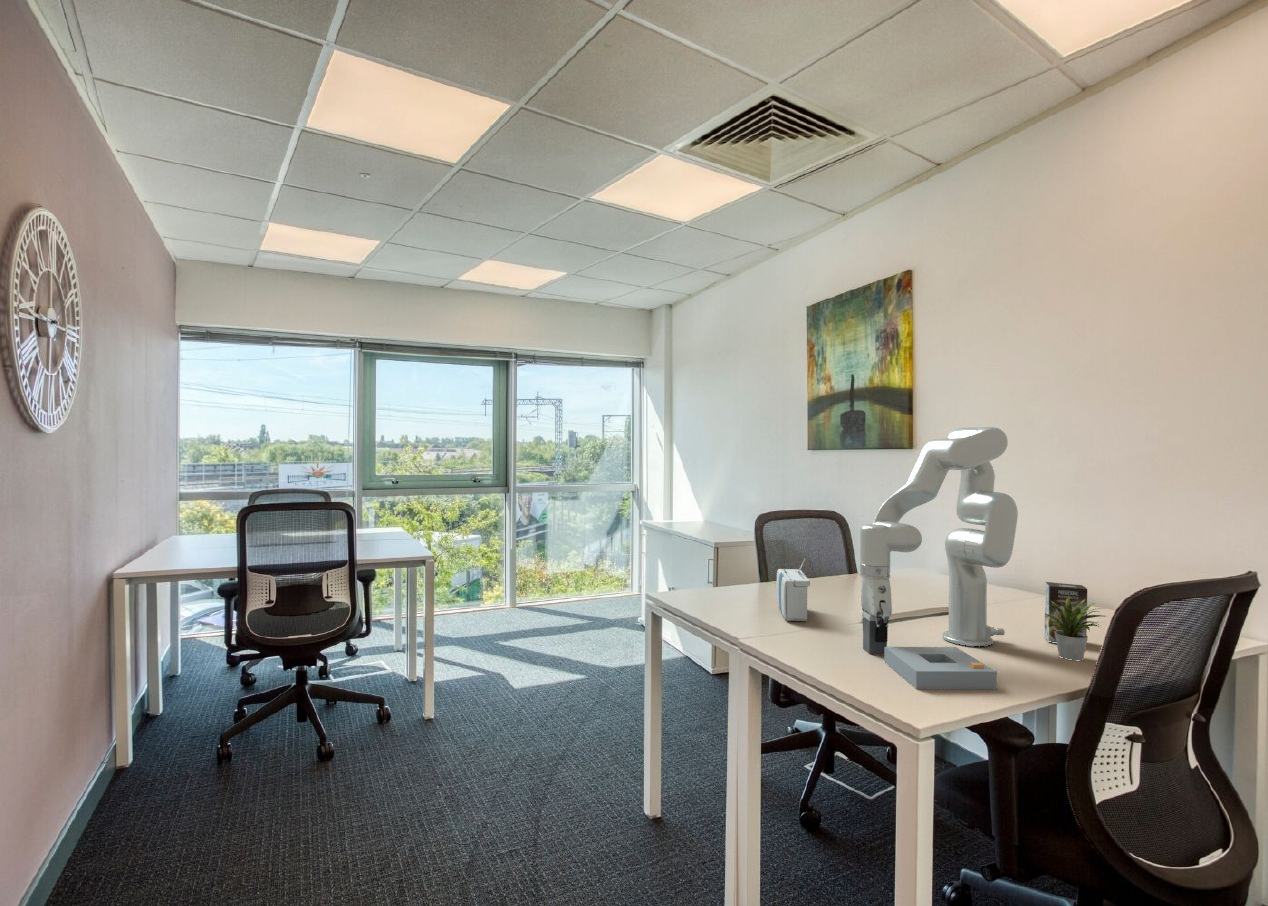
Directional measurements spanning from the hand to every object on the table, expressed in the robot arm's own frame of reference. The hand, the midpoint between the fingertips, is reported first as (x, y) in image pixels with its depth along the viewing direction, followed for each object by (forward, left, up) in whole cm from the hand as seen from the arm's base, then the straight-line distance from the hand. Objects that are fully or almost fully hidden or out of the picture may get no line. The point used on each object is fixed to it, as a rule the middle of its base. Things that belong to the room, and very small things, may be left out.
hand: (874, 636), depth 169 cm
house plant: (-48, +6, -4) cm, 49 cm away
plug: (0, 0, -4) cm, 4 cm away
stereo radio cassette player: (+12, -39, -4) cm, 41 cm away
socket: (-8, +18, -4) cm, 20 cm away
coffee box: (-57, -9, -4) cm, 58 cm away
